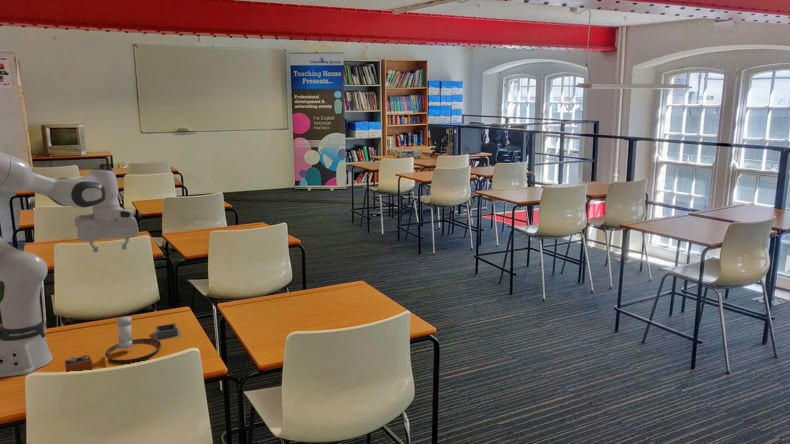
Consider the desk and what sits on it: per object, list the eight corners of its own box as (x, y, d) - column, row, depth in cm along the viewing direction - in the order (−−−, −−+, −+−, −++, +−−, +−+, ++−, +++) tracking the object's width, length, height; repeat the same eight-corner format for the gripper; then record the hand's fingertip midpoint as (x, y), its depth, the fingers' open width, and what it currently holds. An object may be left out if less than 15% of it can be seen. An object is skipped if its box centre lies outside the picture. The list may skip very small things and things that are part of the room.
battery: (67, 388, 181) (64, 357, 179) (92, 382, 185) (88, 352, 183) (70, 393, 178) (66, 362, 176) (95, 387, 182) (91, 356, 180)
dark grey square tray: (155, 343, 214) (154, 334, 213) (153, 335, 222) (152, 325, 221) (181, 339, 218) (180, 329, 217) (178, 330, 226) (177, 321, 225)
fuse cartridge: (119, 349, 201) (118, 320, 200) (117, 346, 205) (116, 317, 204) (133, 347, 204) (132, 318, 203) (131, 344, 207) (130, 316, 207)
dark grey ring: (100, 370, 194) (99, 361, 193) (112, 349, 211) (111, 341, 210) (158, 364, 198) (157, 355, 197) (165, 344, 215) (164, 336, 214)
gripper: (73, 216, 207) (77, 255, 209) (137, 212, 216) (140, 249, 218) (74, 214, 213) (78, 251, 215) (136, 209, 221) (139, 246, 224)
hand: (110, 250), depth 217 cm, fingers open, 8 cm apart
